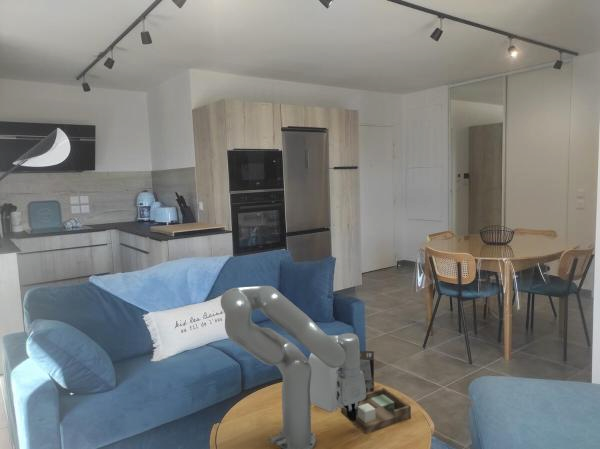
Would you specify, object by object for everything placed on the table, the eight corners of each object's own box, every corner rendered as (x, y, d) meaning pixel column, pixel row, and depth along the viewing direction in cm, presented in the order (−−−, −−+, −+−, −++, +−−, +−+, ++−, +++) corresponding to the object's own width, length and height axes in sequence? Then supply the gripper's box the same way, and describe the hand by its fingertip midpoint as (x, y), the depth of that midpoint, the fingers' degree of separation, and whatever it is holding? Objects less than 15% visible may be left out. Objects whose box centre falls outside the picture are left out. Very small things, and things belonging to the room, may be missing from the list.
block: (365, 422, 157) (365, 412, 156) (357, 416, 161) (357, 406, 160) (375, 419, 159) (375, 408, 158) (368, 413, 163) (367, 403, 162)
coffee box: (373, 398, 178) (373, 360, 176) (357, 397, 179) (357, 359, 177) (374, 387, 187) (374, 350, 185) (359, 386, 188) (358, 350, 186)
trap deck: (366, 433, 155) (366, 421, 154) (341, 412, 169) (341, 401, 168) (410, 417, 164) (410, 406, 163) (383, 398, 178) (383, 387, 177)
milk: (307, 401, 177) (305, 339, 174) (325, 390, 185) (324, 330, 182) (331, 412, 169) (329, 346, 166) (349, 400, 177) (348, 337, 174)
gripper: (336, 379, 148) (339, 431, 150) (373, 368, 154) (375, 417, 157) (325, 371, 154) (328, 420, 157) (361, 360, 161) (362, 407, 163)
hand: (351, 418), depth 157 cm, fingers closed
